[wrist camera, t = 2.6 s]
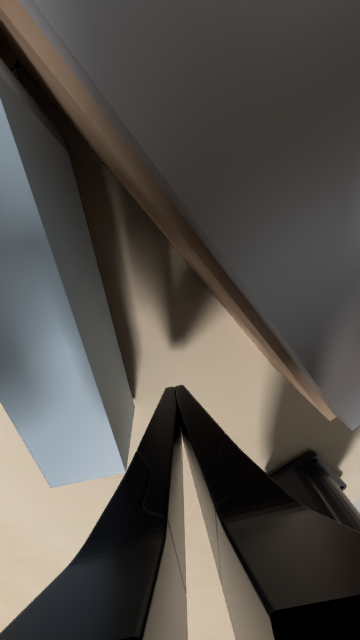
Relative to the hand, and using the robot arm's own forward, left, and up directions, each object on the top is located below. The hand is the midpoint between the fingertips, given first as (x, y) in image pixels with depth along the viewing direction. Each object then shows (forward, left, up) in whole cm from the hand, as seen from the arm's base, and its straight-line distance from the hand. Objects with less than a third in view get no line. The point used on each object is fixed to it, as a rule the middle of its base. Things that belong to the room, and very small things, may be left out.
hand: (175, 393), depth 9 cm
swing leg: (+6, +1, -2) cm, 7 cm away
